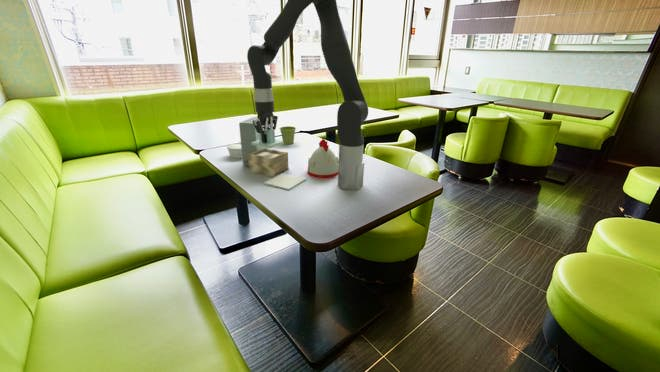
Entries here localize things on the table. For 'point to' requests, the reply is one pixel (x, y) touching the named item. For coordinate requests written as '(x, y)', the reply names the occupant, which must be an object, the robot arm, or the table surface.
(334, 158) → the kitchen timer
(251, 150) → the hard drive box
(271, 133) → the lid
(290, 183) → the mat
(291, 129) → the plant pot
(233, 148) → the ramekin
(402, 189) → the table surface
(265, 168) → the crate
